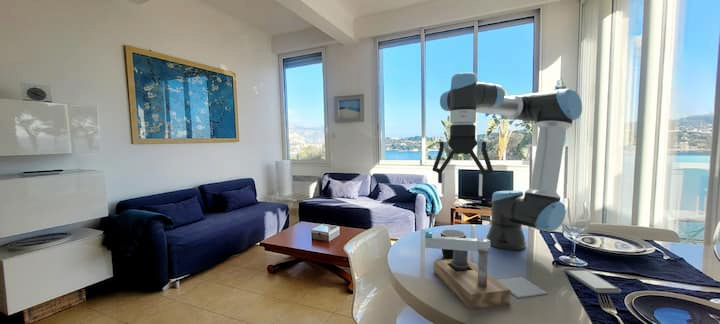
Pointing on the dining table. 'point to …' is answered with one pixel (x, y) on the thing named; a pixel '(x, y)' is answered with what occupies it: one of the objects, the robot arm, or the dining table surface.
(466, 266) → the plug
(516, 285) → the mat
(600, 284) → the smartphone
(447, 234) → the mug
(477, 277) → the socket block
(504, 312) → the dining table surface
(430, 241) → the crank
